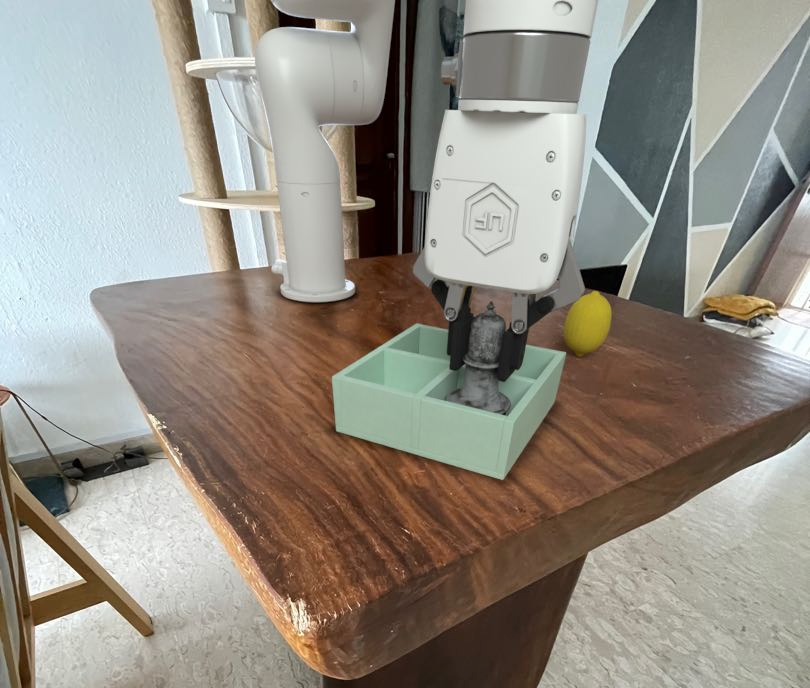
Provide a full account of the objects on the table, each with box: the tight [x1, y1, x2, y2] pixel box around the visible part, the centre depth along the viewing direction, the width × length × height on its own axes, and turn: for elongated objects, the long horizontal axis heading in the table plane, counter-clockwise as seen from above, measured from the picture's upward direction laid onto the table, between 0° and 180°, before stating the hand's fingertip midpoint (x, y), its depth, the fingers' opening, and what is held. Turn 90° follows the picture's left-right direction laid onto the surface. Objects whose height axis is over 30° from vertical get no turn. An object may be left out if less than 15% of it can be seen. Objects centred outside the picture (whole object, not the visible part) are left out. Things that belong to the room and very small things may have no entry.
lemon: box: [563, 290, 612, 358], centre depth 62 cm, size 6×6×8 cm
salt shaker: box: [446, 301, 511, 415], centre depth 43 cm, size 6×6×12 cm
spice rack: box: [331, 322, 567, 481], centre depth 50 cm, size 17×17×6 cm
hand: (482, 368), depth 42 cm, fingers closed on salt shaker, 3 cm apart
